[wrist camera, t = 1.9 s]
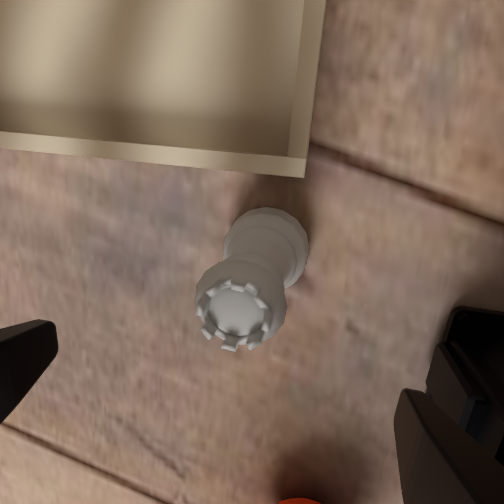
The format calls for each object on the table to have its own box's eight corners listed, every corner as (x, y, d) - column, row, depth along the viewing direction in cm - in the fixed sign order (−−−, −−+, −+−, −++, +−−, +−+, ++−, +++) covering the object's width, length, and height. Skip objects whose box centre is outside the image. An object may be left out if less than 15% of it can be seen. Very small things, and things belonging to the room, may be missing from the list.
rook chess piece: (243, 192, 17) (187, 228, 10) (323, 224, 17) (327, 285, 10) (218, 265, 19) (153, 344, 12) (291, 296, 19) (272, 396, 11)
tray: (337, -81, 13) (341, -122, 11) (305, 173, 17) (303, 177, 14) (-42, -73, 16) (-95, -105, 14) (-6, 143, 19) (-45, 143, 17)
